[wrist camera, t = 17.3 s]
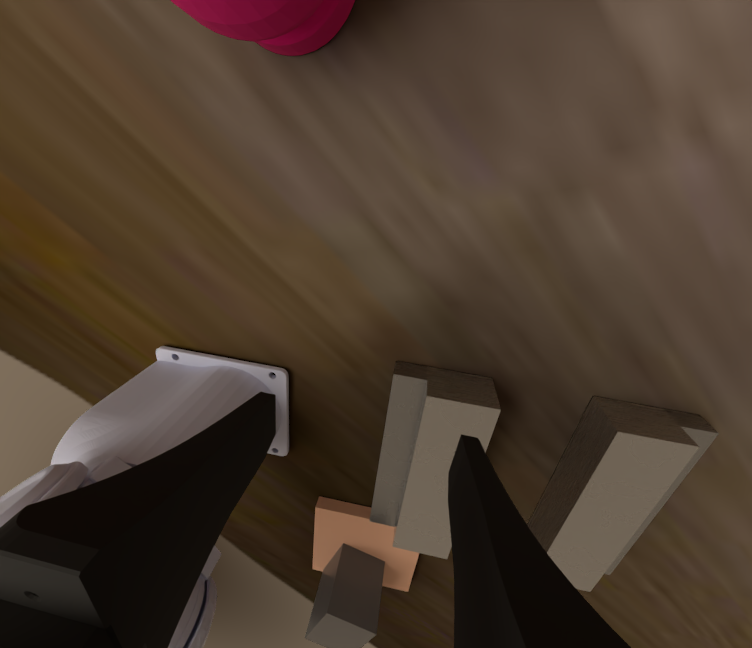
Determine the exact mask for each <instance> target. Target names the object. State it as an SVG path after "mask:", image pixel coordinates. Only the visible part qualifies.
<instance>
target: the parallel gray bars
mask: <svg viewBox="0 0 752 648" xmlns="http://www.w3.org/2000/svg"><path fill="white" fill-rule="evenodd" d="M500 411H501V408H500V405H499V401H498V397H497V394H496V390H495V387H494V383H493V380H492V378H490V377H484V376H479V375H473V374H467V373H462V372H456V371H451V370H445V369H439V368H434V367H428V366H423V365H417V364H412V363H406V362H400V361H396V364H395V369H394V375H393V381H392V387H391V393H390V399H389V405H388V411H387V417H386V423H385V429H384V435H383V441H382V447H381V453H380V459H379V466H378V472H377V478H376V484H375V490H374V496H373V502H372V508H371V514H370V520H369V521H370V522H375V523H379V524H384V525H388V526H393V527H395V528H394V537H393V547H396V548H400V549H404V550H409V551H413V552H417V553H422V554H426V555H431V556H435V557H439V558H444V559H447V558H448V555H449V552H450V549H451V547H452V543H451V532H450V520H449V509H448V472H449V469H450V466H451V463H452V460H453V457H454V454H455V451H456V448H457V445H458V442H459V439H460V436H461V434H462V435H467V436H472V437H476V438H478V439H479V440H480V442H481V444H482V446H483V448H484V451H485V453H486V450H487V447H488V444H489V442H490V439H491V436H492V433H493V431H494V428H495V425H496V422H497V420H498V417H499V414H500ZM718 434H719V433H718V432H717V431H716V430H715V429H714V428H713V427H712V426H711V425H710V424H708V423H707V422H706V421H705V420H704V419H703V418H702V417H701V416H700V415H697V414H691V413H685V412H680V411H674V410H669V409H663V408H657V407H652V406H646V405H641V404H635V403H629V402H624V401H618V400H613V399H607V398H602V397H596V396H593V397H592V399H591V401H590V403H589V405H588V407H587V409H586V411H585V413H584V415H583V417H582V419H581V421H580V423H579V424H578V426H577V428H576V430H575V432H574V434H573V436H572V438H571V440H570V442H569V444H568V446H567V448H566V450H565V452H564V454H563V456H562V458H561V460H560V462H559V464H558V466H557V468H556V470H555V472H554V474H553V476H552V478H551V479H550V481H549V483H548V485H547V487H546V489H545V491H544V493H543V495H542V497H541V499H540V501H539V503H538V505H537V507H536V509H535V511H534V513H533V515H532V517H531V519H530V521H529V523H528V525H527V526H528V527H529V529H530V530H531V532H532V533H533V535H534V536H535V537H536V539H537V540H538V542H539V543H540V544H541V546H542V547H543V548H544V550H545V551H546V552H547V554H548V555H549V556H550V558H551V559H552V560H553V562H554V563H555V564H556V565H557V567H558V568H559V569H560V570H561V571H562V573H563V574H564V575H565V576H566V577H567V579H568V580H569V581H570V582H571V583H572V585H573V586H574V587H575V588H576V589H579V590H584V591H588V592H591V590H592V589H593V588H594V586H595V585H596V584H597V582H598V581H599V580H600V578H601V577H602V576H603V574H608V575H610V574H611V573H612V572H613V570H614V569H615V568H616V566H617V565H618V564H619V563H620V561H621V560H622V559H623V557H624V556H625V555H626V553H627V552H628V551H629V550H630V548H631V547H632V546H633V544H634V543H635V542H636V540H637V539H638V538H639V537H640V535H641V534H642V533H643V531H644V530H645V529H646V528H647V526H648V525H649V524H650V522H651V521H652V520H653V518H654V517H655V516H656V515H657V513H658V512H659V511H660V509H661V508H662V507H663V506H664V504H665V503H666V502H667V500H668V499H669V498H670V496H671V495H672V494H673V493H674V491H675V490H676V489H677V487H678V486H679V485H680V483H681V482H682V481H683V480H684V478H685V477H686V476H687V474H688V473H689V472H690V471H691V469H692V468H693V467H694V465H695V464H696V463H697V461H698V460H699V459H700V458H701V456H702V455H703V454H704V452H705V451H706V450H707V449H708V447H709V446H710V445H711V443H712V442H713V441H714V439H715V438H716V437H717V436H718Z"/></svg>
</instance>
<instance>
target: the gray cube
mask: <svg viewBox="0 0 752 648" xmlns="http://www.w3.org/2000/svg"><path fill="white" fill-rule="evenodd" d="M384 566H385V561H383V560H380V559H378V558H376V557H374V556H371V555H369V554H367V553H365V552H362V551H360V550H358V549H356V548H353V547H351V546H349V545H347V544H344V543H343V544H342V545H341V547H340V548H339V549H338V551H337V552H336V553H335V555H334V556H333V557H332V559H331V560H330V561H329V563H328V564H327V565H326V567H325V568H324V569H323V572H322V576H321V580H320V584H319V587H318V591H317V595H316V598H315V602H314V606H313V610H312V613H311V617H310V621H309V624H308V628H307V632H306V636H305V638H306V639H308V640H310V641H312V642H315V643H317V644H320V645H322V646H324V647H327V648H362V647H363V646H364V645H365V644H366V643H367V642H368V641H369V640H371V639H372V638H373V637H374V636H375V635H376V633H377V625H378V617H379V608H380V600H381V591H382V583H383V575H384Z"/></svg>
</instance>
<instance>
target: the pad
mask: <svg viewBox="0 0 752 648" xmlns="http://www.w3.org/2000/svg"><path fill="white" fill-rule="evenodd" d="M370 514H371V507H366V506H362V505H357V504H352V503H348V502H343V501H339V500H334V499H330V498H325V497H321V496H319V498H318V501H317V504H316V507H315V526H314V547H313V569H314V570H318V571H322V572H323V569H324V568H325V567H326V565H327V564H328V563H329V561H330V560H331V559H332V557H333V556H334V555H335V553H336V552H337V551H338V549H339V548H340V547H341V545H342V544H343V543H344V544H347V545H349V546H351V547H353V548H356V549H358V550H360V551H362V552H365V553H367V554H369V555H371V556H374V557H376V558H378V559H380V560H383V561H385V566H384V575H383V583H382V586H385V587H389V588H393V589H398V590H402V591H406V592H408V590H409V587H410V583H411V580H412V577H413V573H414V570H415V566H416V563H417V560H418V556H419V553H417V552H413V551H409V550H404V549H400V548H396V547H393V537H394V528H395V527H393V526H388V525H384V524H379V523H375V522H370V521H369V520H370Z"/></svg>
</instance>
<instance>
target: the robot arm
mask: <svg viewBox="0 0 752 648" xmlns="http://www.w3.org/2000/svg"><path fill="white" fill-rule="evenodd" d="M156 356H157V361H156V362H155V363H153V364H152V365H150V366H149V367H148V368H146V369H145V370H143V371H142V372H141V373H139V374H138V375H136V376H135V377H134V378H132V379H131V380H129V381H128V382H127V383H125V384H124V385H122V386H121V387H120V388H118V389H117V390H115V391H114V392H113V393H111V394H110V395H108V396H107V397H106V398H104V399H103V400H101V401H100V402H99V403H97V404H96V405H94V406H93V407H92V408H90V409H89V410H87V411H86V412H85V413H84V414H83V415H81V416H80V417H79V418H78V419H77V420H76V421H75V422H74V423H73V424H72V426H71V427H70V428H69V429H68V430H67V432H66V433H65V435H64V436H63V438H62V439H61V441H60V442H59V444H58V446H57V448H56V450H55V452H54V455H53V458H52V461H51V466H49V467H47V468H45V469H43V470H41V471H39V472H38V473H36V474H35V475H33V476H31V477H30V478H28V479H26V480H25V481H23V482H22V483H20V484H19V485H18V486H16V487H14V488H13V489H11V490H10V491H9V492H7V493H6V494H4V495H3V496H1V497H0V648H203V647H204V644H205V642H206V639H207V637H208V633H209V630H210V627H211V623H212V620H213V616H214V613H215V608H216V601H217V588H216V585H215V582H214V580H213V579H212V577H211V576H210V574H211V572H212V571H213V569H214V567H215V565H216V563H217V561H218V560H219V558H220V556H221V552H220V551H219V550H218V549H217V547H216V546H215V543H216V541H217V539H218V537H219V535H220V533H221V531H222V529H223V527H224V525H225V523H226V521H227V520H228V518H229V516H230V514H231V512H232V511H233V509H234V507H235V506H236V504H237V503H238V501H239V499H240V498H241V496H242V494H243V493H244V491H245V490H246V488H247V486H248V485H249V483H250V481H251V480H252V478H253V477H254V475H255V473H256V472H257V470H258V468H259V467H260V465H261V463H262V462H263V460H264V458H265V456H266V454H267V453H269V454H274V455H279V456H286V455H287V454H288V452H289V375H288V372H287V371H286V370H285V369H283V368H279V367H274V366H268V365H263V364H258V363H252V362H247V361H242V360H236V359H231V358H226V357H220V356H215V355H209V354H204V353H199V352H193V351H188V350H183V349H177V348H172V347H167V346H161V347H159V348H158V349H157V350H156ZM271 372H273V373H275V374H276V376H275V375H273V374H272V373H271ZM448 509H449V520H450V532H451V543H452V554H453V565H454V600H455V619H454V648H631V647H630V646H629V645H628V644H627V643H626V642H625V641H624V640H623V639H622V638H621V637H620V636H619V635H618V634H617V633H616V632H615V631H614V630H613V629H612V628H611V627H610V626H609V625H608V624H607V623H606V622H605V621H604V620H603V618H602V617H601V616H600V615H599V614H598V613H597V612H596V611H595V610H594V609H593V608H592V606H591V605H590V604H589V603H588V602H587V601H586V600H585V599H584V598H583V596H582V595H581V594H580V593H579V592H578V591H577V589H576V588H575V587H574V586H573V585H572V583H571V582H570V581H569V580H568V579H567V577H566V576H565V575H564V574H563V573H562V571H561V570H560V569H559V568H558V567H557V565H556V564H555V563H554V562H553V560H552V559H551V558H550V556H549V555H548V554H547V552H546V551H545V550H544V548H543V547H542V546H541V544H540V543H539V542H538V540H537V539H536V537H535V536H534V535H533V533H532V532H531V530H530V529H529V527H528V526H527V524H526V523H525V521H524V520H523V518H522V517H521V515H520V513H519V512H518V510H517V509H516V507H515V505H514V504H513V502H512V500H511V499H510V497H509V495H508V494H507V492H506V490H505V488H504V487H503V485H502V483H501V481H500V480H499V478H498V476H497V474H496V472H495V470H494V468H493V466H492V465H491V463H490V461H489V459H488V457H487V455H486V453H485V451H484V448H483V446H482V444H481V442H480V440H479V439H478V438H476V437H472V436H467V435H462V434H461V436H460V439H459V442H458V445H457V448H456V451H455V454H454V457H453V460H452V463H451V466H450V469H449V472H448Z"/></svg>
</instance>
